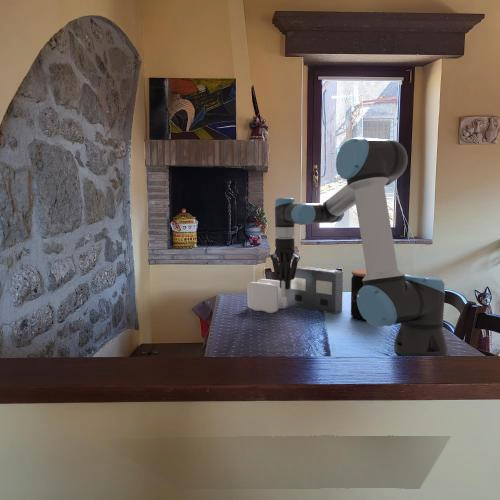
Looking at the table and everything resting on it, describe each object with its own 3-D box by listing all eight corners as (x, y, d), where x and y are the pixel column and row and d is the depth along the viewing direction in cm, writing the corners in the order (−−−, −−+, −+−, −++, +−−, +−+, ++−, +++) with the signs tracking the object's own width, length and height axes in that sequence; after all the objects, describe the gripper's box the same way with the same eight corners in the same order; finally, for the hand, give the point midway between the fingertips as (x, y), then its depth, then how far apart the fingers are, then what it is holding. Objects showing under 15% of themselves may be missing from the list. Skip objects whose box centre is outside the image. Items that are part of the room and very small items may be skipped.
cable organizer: (245, 309, 184) (245, 281, 183) (259, 303, 193) (259, 277, 191) (276, 314, 176) (276, 285, 174) (289, 308, 184) (289, 281, 183)
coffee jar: (347, 320, 168) (348, 272, 165) (354, 313, 177) (355, 268, 175) (376, 323, 163) (377, 275, 160) (382, 316, 172) (383, 270, 170)
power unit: (334, 313, 176) (335, 273, 174) (287, 305, 189) (287, 267, 187) (342, 310, 181) (342, 270, 179) (295, 302, 194) (296, 265, 192)
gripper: (304, 237, 173) (303, 297, 176) (276, 235, 181) (276, 292, 184) (293, 239, 167) (293, 301, 170) (265, 237, 175) (266, 296, 178)
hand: (284, 296), depth 177 cm, fingers closed
